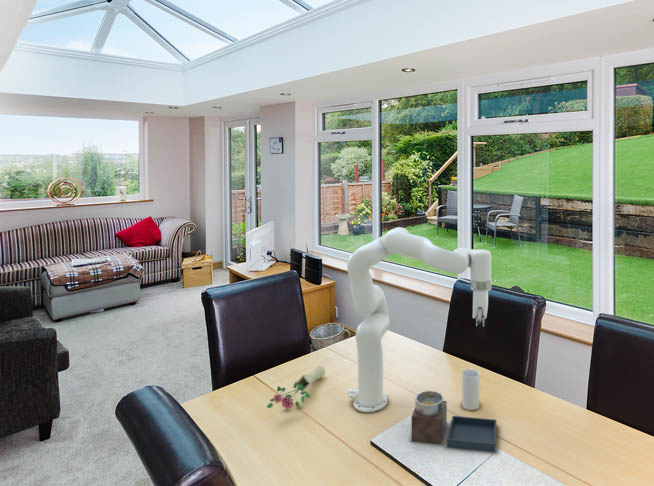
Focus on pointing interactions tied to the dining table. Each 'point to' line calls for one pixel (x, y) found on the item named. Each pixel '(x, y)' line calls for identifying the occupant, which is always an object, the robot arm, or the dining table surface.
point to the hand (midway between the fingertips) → (481, 332)
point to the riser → (429, 427)
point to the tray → (472, 434)
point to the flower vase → (298, 388)
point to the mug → (470, 389)
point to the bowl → (431, 398)
